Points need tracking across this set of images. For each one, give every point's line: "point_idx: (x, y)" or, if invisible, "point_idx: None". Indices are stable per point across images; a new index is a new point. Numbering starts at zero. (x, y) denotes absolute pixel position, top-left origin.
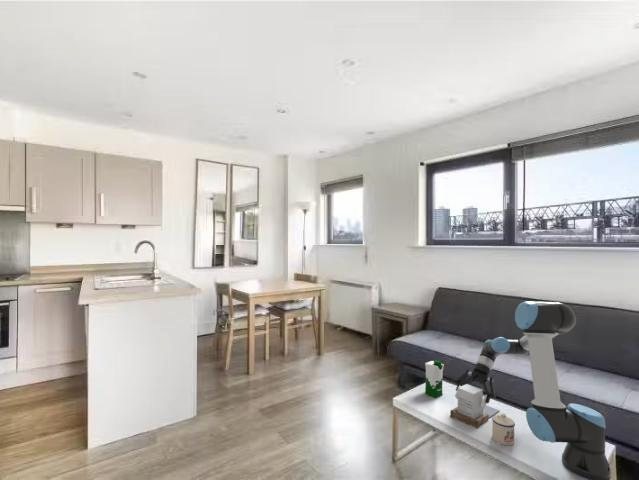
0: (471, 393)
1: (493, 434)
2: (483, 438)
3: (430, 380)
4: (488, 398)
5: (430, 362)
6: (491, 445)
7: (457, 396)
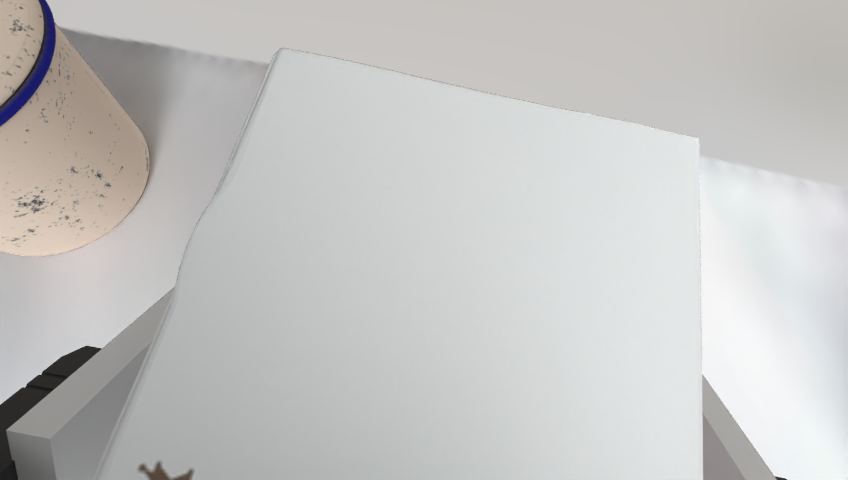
0: (337, 59)
1: (117, 101)
2: (218, 104)
3: None
4: (11, 401)
5: None
6: (151, 52)
7: None
